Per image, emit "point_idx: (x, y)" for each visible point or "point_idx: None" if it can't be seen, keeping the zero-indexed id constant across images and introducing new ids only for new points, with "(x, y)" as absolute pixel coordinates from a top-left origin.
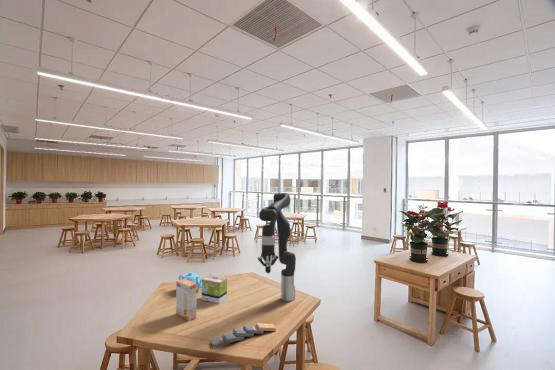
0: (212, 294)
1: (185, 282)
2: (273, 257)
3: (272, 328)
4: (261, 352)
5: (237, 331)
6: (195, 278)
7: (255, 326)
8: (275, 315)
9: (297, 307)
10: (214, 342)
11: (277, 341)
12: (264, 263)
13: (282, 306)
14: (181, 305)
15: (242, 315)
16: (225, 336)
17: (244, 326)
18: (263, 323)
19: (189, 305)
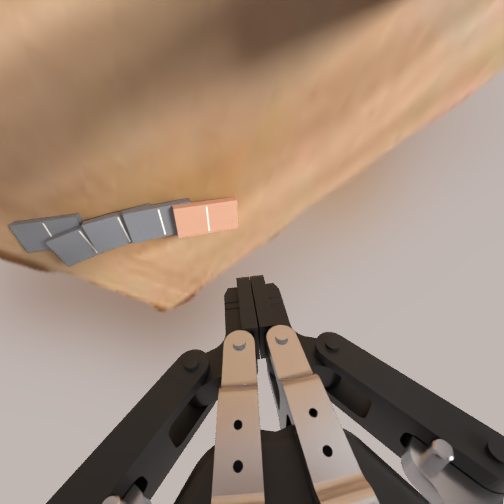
0: None
1: None
2: (412, 463)
3: (225, 229)
4: (172, 292)
5: (98, 241)
6: None
7: (170, 208)
8: (278, 117)
9: (403, 79)
10: (28, 241)
11: (222, 267)
12: (197, 427)
13: (354, 30)
14: None
15: (127, 46)
16: (58, 254)
17: (124, 219)
18: (201, 206)
19: None
